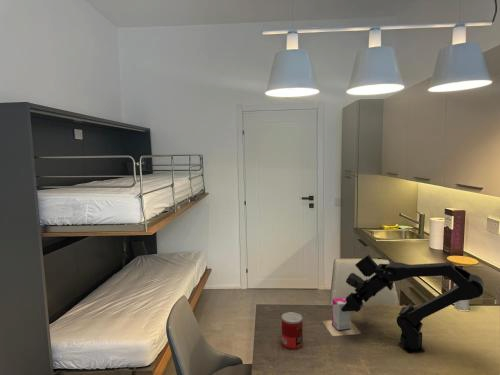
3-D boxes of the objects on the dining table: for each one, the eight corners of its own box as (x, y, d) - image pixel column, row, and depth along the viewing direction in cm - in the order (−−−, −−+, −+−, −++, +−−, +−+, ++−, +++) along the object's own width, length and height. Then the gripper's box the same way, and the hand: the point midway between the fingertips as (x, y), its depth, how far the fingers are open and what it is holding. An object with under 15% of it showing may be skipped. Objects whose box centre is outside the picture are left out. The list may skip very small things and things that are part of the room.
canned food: (300, 351, 125) (300, 323, 124) (279, 347, 128) (279, 320, 126) (304, 340, 132) (304, 313, 131) (284, 337, 135) (284, 310, 134)
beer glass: (454, 303, 160) (455, 273, 158) (471, 307, 155) (473, 276, 154) (451, 309, 154) (453, 277, 153) (469, 313, 150) (471, 281, 148)
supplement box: (351, 329, 139) (351, 302, 138) (338, 331, 138) (338, 304, 136) (344, 322, 145) (344, 297, 143) (331, 324, 143) (331, 298, 142)
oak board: (348, 321, 148) (348, 318, 148) (361, 336, 136) (361, 333, 136) (322, 323, 147) (322, 321, 146) (332, 338, 135) (332, 336, 135)
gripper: (366, 262, 142) (340, 282, 149) (351, 276, 127) (323, 297, 134) (385, 284, 138) (358, 303, 146) (372, 301, 123) (342, 322, 130)
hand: (345, 306), depth 139 cm, fingers open, 9 cm apart
